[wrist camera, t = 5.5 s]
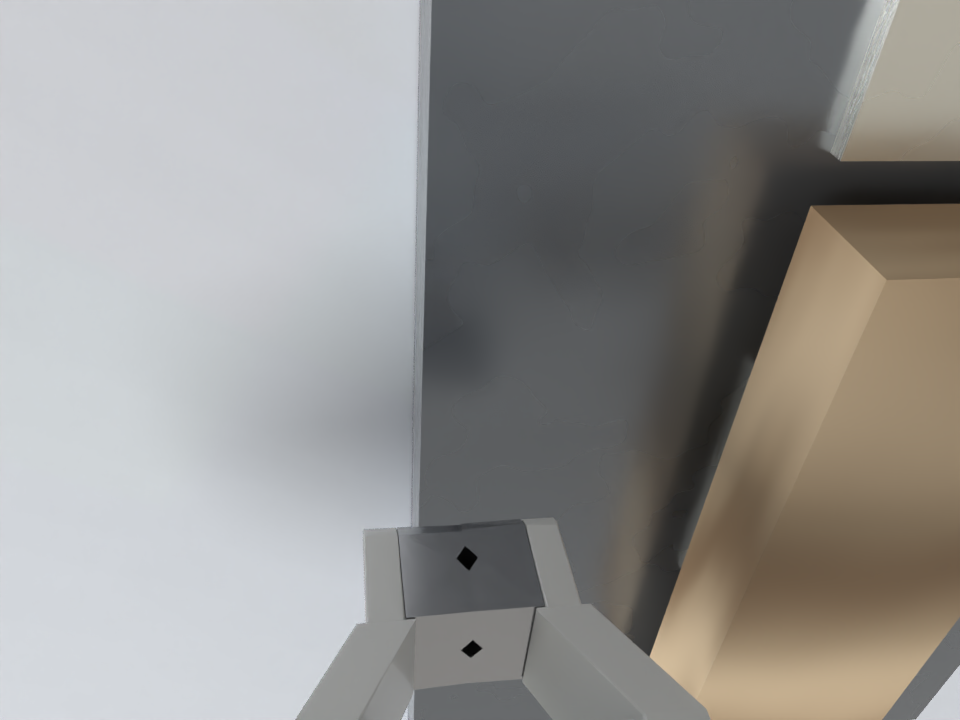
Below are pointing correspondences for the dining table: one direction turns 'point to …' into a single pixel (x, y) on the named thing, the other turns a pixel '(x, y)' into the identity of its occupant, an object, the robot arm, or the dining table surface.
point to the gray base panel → (637, 258)
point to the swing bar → (834, 483)
